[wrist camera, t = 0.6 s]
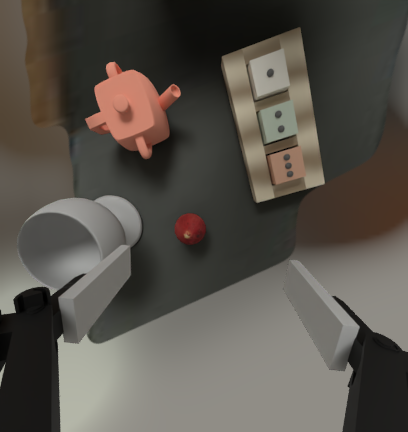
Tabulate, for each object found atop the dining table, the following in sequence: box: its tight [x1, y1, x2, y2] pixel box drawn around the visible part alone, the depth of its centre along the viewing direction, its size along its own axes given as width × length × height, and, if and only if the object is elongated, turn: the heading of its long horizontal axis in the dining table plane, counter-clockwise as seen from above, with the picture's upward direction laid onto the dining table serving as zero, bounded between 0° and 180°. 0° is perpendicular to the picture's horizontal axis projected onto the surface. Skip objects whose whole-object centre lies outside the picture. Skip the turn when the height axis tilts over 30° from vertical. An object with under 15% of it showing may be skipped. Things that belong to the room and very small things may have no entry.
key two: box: [257, 100, 298, 145], centre depth 31 cm, size 5×5×3 cm
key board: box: [221, 27, 325, 203], centre depth 33 cm, size 24×12×3 cm, turn 17°
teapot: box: [85, 62, 181, 159], centre depth 30 cm, size 12×12×10 cm
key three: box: [266, 146, 306, 185], centre depth 33 cm, size 5×5×3 cm
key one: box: [247, 48, 290, 103], centre depth 30 cm, size 5×5×3 cm
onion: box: [175, 213, 206, 245], centre depth 35 cm, size 6×6×8 cm
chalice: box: [17, 195, 142, 290], centre depth 33 cm, size 14×14×15 cm
